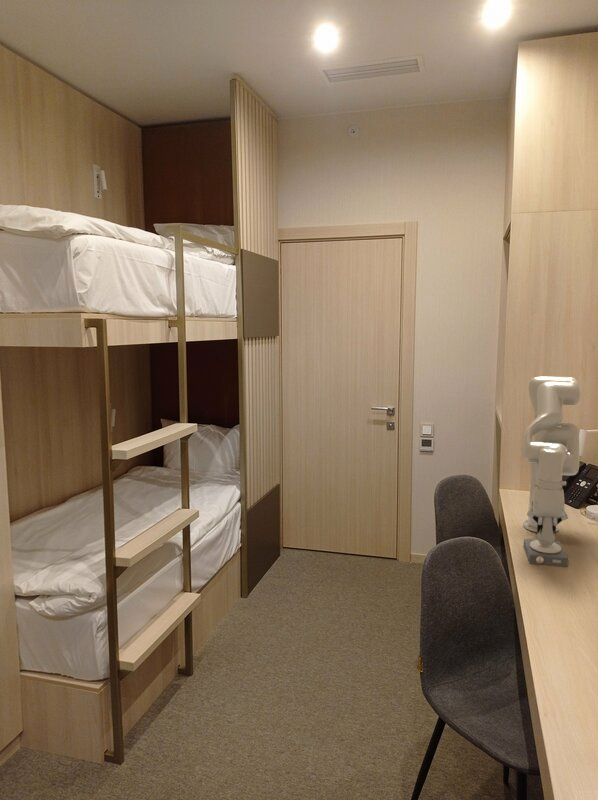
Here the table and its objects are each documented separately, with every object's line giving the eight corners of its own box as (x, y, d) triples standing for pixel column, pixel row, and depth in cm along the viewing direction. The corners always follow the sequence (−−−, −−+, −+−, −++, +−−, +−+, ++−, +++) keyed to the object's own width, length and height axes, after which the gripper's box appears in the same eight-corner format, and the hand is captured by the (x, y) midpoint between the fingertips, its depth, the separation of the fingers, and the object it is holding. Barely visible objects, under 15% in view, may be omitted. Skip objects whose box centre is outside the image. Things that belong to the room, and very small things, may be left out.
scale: (523, 546, 210) (524, 536, 209) (559, 549, 207) (559, 539, 206) (529, 563, 196) (530, 553, 195) (567, 567, 193) (568, 556, 193)
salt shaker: (543, 547, 198) (546, 511, 195) (532, 541, 203) (535, 505, 201) (558, 545, 199) (560, 509, 197) (547, 539, 205) (549, 503, 202)
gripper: (572, 482, 199) (569, 532, 202) (522, 479, 203) (519, 529, 206) (578, 489, 192) (574, 541, 195) (525, 485, 196) (522, 537, 199)
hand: (546, 534), depth 201 cm, fingers closed on salt shaker, 3 cm apart
